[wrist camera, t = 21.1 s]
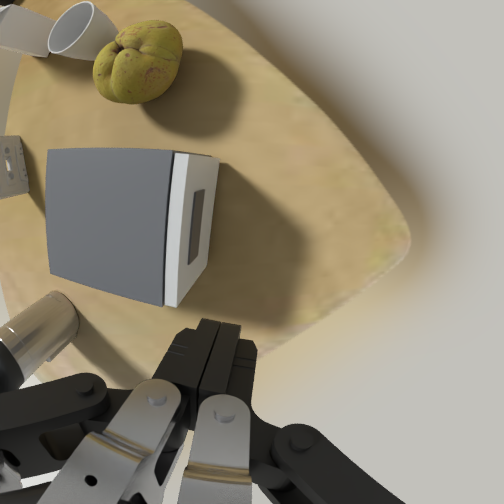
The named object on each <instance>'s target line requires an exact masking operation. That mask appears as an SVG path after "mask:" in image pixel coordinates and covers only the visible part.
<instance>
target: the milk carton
mask: <svg viewBox="0 0 504 504" xmlns="http://www.w3.org/2000/svg"><path fill="white" fill-rule="evenodd" d="M56 22H57V21H55V20H53V19H50V18H48V17H46V16H43V15H41V14H38V13H36V12H33V11H31V10H28V9H26V8H23V7H20V6H17V5H14V4H11V5H8V6H5V7H2V8H0V48H1V49H5V50H10V51H14V52H19V53H22V54H26V55H30V56H38V57H47V56H48V54H49V53H50V51H49V49H48V39H49V35H50V33H51V30H52V28H53V27H54V25H55V23H56Z"/></svg>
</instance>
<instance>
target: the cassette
mask: <svg viewBox="0 0 504 504" xmlns="http://www.w3.org/2000/svg"><path fill="white" fill-rule="evenodd" d="M5 160H7V164H8V169H9V171H7V167H6V161H5ZM28 181H29V180H28V176H27V171H26V166H25V160H24V155H23V148H22V143H21V142H20V136H0V199H4V198H8V197H12V196H16V195H21V194H25V193H28V192H29V191H30V189H29V185H28Z"/></svg>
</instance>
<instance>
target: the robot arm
mask: <svg viewBox="0 0 504 504" xmlns="http://www.w3.org/2000/svg"><path fill="white" fill-rule="evenodd" d="M78 328H79V319H78V316H77V313H76V311H75V309H74V307H73V305H72V304H71V302H70V301H69V300H68V299H67V298H66V297H65V296H64V295H63V294H61V293H59V292H56V291H52V292H50V293H49V294H47V295H46V296H44V297H43V298H41V299H40V300H38V301H37V302H35V303H34V304H32V305H31V306H30V307H28V308H27V309H25V310H24V311H22V312H21V313H20V314H18V315H17V316H15V317H14V318H13V319H11V320H10V321H9V322H7V323H6V324H4V325H3V326H2V327H1V328H0V504H162V502H163V497H164V490H165V488H166V485H167V483H168V481H169V479H170V476H171V474H172V472H173V470H174V467H175V465H176V463H177V460H178V458H179V456H180V454H181V451H182V449H183V445H184V441H185V438H186V435H187V432H188V430H192V431H194V436H193V441H192V446H191V451H190V457H189V461H188V465H187V467H186V468H185V470H184V473H183V477H182V482H181V487H180V492H179V497H178V502H177V504H251V502H252V501H251V500H252V482H253V483H255V484H258V486H259V488H260V489H261V490H262V492H263V493H264V494H265V495H266V496H267V498H268V499H269V500H270V501H271V502H272V503H273V504H405V503H404V502H403V501H401V500H400V499H399V498H397V497H396V496H395V495H393V494H392V493H390V492H389V491H388V490H387V489H385V488H384V487H383V486H382V485H380V484H379V483H378V482H376V481H375V480H374V479H373V478H371V477H370V476H369V475H368V474H367V473H366V472H364V471H363V470H362V469H361V468H359V467H358V466H357V465H356V464H355V463H354V462H352V461H351V460H350V459H349V458H348V457H347V456H346V455H344V454H343V453H342V452H341V451H340V450H339V449H338V448H337V447H336V446H334V445H333V444H332V443H331V442H330V441H329V440H328V439H327V438H326V437H324V435H322V434H321V433H320V432H319V431H318V430H317V429H315V428H313V427H311V426H309V425H305V424H291V425H287V426H285V427H283V428H279V427H276V426H274V425H271V424H269V423H266V422H264V421H263V420H261V419H260V418H259V417H258V416H257V415H256V414H255V413H254V411H253V409H252V406H251V397H252V390H253V382H254V374H255V367H256V359H257V351H258V350H257V348H256V346H255V344H254V342H253V341H251V340H246V339H240V333H241V325H236V324H231V323H225V322H222V324H221V322H220V321H214V320H209V319H204V318H202V319H201V321H200V323H199V325H198V327H197V329H196V330H194V329H189V328H185V329H184V330H182V331H181V332H179V333H178V334H176V336H175V338H174V340H173V341H172V344H171V345H170V347H169V348H168V351H167V352H166V354H165V356H164V357H163V359H162V361H161V363H160V364H159V366H158V368H157V370H156V372H155V373H154V375H153V377H152V379H149V380H145V381H143V382H141V383H139V384H138V385H137V386H136V387H135V388H134V389H133V390H121V389H111V388H107V386H106V384H105V382H104V380H103V379H102V378H101V377H99V376H97V375H95V374H92V373H79V374H75V375H72V376H68V377H65V378H61V379H57V380H54V381H50V382H46V383H43V384H39V385H35V386H31V387H27V388H23V389H19V388H20V386H21V385H22V384H23V383H24V382H25V381H26V380H27V379H28V378H29V377H30V376H31V375H32V374H33V373H34V372H35V371H36V370H37V369H38V368H39V367H40V366H41V365H42V364H43V363H44V362H45V361H47V362H51V361H52V360H53V359H54V358H55V357H56V356H57V355H58V354H59V353H60V352H61V351H62V350H63V349H64V348H65V347H66V346H67V345H68V344H69V343H70V342H71V341H72V340H73V339H74V338H75V337H76V336H77V334H76V332H77V330H78ZM57 470H60V472H59V473H58V474H57V476H56V477H55V479H54V480H53V481H52V482H51V481H50V482H46V483H42V484H39V485H35V486H31V487H27V488H23V489H22V483H21V479H23V478H29V477H33V476H37V475H41V474H45V473H50V472H54V471H57Z"/></svg>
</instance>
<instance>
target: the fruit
mask: <svg viewBox="0 0 504 504" xmlns="http://www.w3.org/2000/svg"><path fill="white" fill-rule="evenodd" d="M182 51H183V43H182V37H181V35H180V33H179V31H178V30H177V29H176V28H175V27H174V26H173V25H171V24H170V23H167V22H164V21H159V20H150V21H145V22H140V23H137V24H134V25H131V26H129V27H127V28H125V29H123V30H122V31H120V32H119V33H118V35H117V36H116V38H115V41H113V42H111V43H109V44H107V45H106V46H105V47H104V48H103V49H102V50H101V51H100V52H99V54H98V55H97V57H96V60H95V62H94V66H93V79H94V83H95V85H96V88H97V89H98V91H99V93H100V94H101V95H102V96H103V97H105V98H106V99H108V100H110V101H113V102H117V103H126V104H139V103H144V102H148V101H150V100H153V99H156V98H158V97H159V96H161V95H162V94H163V93H164V92H165V91H166V90H167V89H168V88H169V87H170V85H171V84H172V82H173V81H174V79H175V77H176V75H177V72H178V69H179V63H180V60H181V56H182Z"/></svg>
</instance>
